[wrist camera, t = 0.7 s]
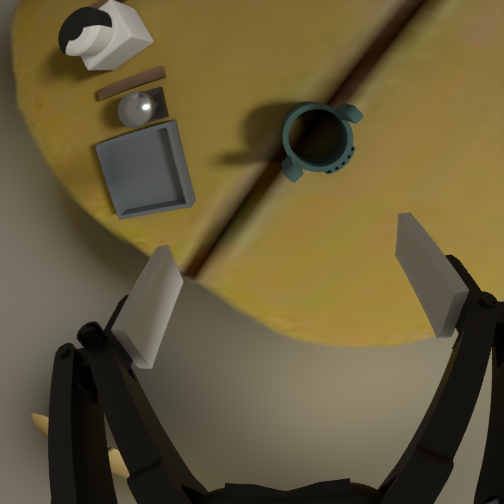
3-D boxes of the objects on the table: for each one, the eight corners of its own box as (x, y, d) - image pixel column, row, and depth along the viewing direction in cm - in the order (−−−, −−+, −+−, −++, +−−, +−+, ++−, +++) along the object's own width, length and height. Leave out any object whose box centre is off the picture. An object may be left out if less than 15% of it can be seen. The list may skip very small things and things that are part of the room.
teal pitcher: (279, 162, 38) (281, 183, 30) (282, 95, 33) (286, 97, 25) (343, 167, 37) (362, 190, 30) (350, 103, 32) (373, 109, 25)
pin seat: (89, 10, 25) (84, 8, 23) (149, -17, 23) (145, -20, 22) (105, 99, 33) (99, 100, 32) (166, 77, 32) (162, 77, 30)
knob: (133, 95, 33) (114, 98, 28) (162, 86, 32) (146, 86, 28) (140, 125, 35) (122, 132, 31) (169, 116, 35) (154, 122, 30)
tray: (103, 141, 37) (95, 145, 35) (175, 119, 35) (169, 121, 33) (125, 212, 43) (119, 219, 41) (195, 200, 41) (191, 206, 39)
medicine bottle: (96, 37, 28) (44, 32, 17) (135, 8, 26) (89, -10, 15) (115, 71, 31) (63, 73, 21) (155, 42, 29) (111, 30, 19)
